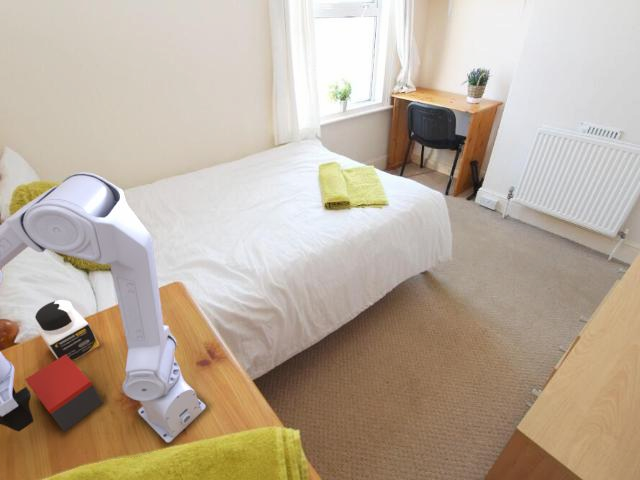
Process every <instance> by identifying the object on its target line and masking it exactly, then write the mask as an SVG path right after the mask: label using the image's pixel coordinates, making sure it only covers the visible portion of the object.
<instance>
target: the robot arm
mask: <svg viewBox="0 0 640 480" xmlns="http://www.w3.org/2000/svg"><path fill="white" fill-rule="evenodd" d="M153 241H154V240H153V238H152V236H151V234H150V232H149V231H148V230H147V229H146V227H145V226H144V224H143V223H142V222H141V221H140V219H139V217H137V215H136V214H135V213H134V212H133V210H132V209H131V208H130V206H129V205H128V203H127V201H126V197H125V194H124V191H123V189H122V188H120V187H119V186H117V185H115V184H114V183H112V182H110V181H109V180H107V179H105V178H104V177H102V176H100V175H98V174H95V173H92V172H87V171H81V172H80V171H79V172H75V173H72V174H69V175H68V176H67V177H66V178H65V179H63V181H62V182H61V184H60V185H54V186H53V187H51V188H49V189H48V190H46V191H45V192H43V193H41V194H40V195H38V196H37V197H35V198H34V199H32V200H30V201H29V202H28V203H26V204H25V205H23V206H22V207H21V208H19V209H18V210H17V211H16V212H14V213H13V214H12V215H10V216H9V217H8V218H7V219H5V220H4V222H2V223H1V224H0V284H1V283H2V281H3V272H2V270H1V269H2V268H3V267H5V266H6V265H7V264H9V263H10V262H11V261H12V260H14V259H15V258H16V257H18V256H19V255H20V254H21V253H22V252H24V251H25V250H26V249H28V248H31V249H32V250H34V251H35V252H37V253H44V252H45V251H46V250H48V251H52V252H55V253H57V254H61V255H66V256H69V257H71V258H72V257H73V258H76V259H79V260H84V261H88V262H91V263H95V264H98V265H104V266H105V265H109V267H110V272H111V275H112V281H113V286H114V290H115V294H116V299H117V304H118V308H119V313H120V318H121V321H122V326H123V332H124V335H125V340H126V345H127V356H126V364H125V379H124V381H123V383H122V386H121V388H122V392H123V393H124V395H125V396H127V397H128V398H130V399H132V400H134V401H138V402H140V403H141V405H142V406H141V407H140V408H139V409H138V410H137V413H138V415H139V416H140V417H141V418H142V419H143V420H144V421H145V422H146V423H147V424H148V425H149V426H150V427H151V428H152V430H154V431H155V432H156V433H157V434H158V435H159V436H160V437H161V439H162V440H163V441H164V442H165V443H166V444H169V443H172V441H173V440H174V439H176V437H178V435H180V434H181V433H182V432H183V431H184V430H185V429H186V428H187V427H188V426H189V425H190V424H191V423H192V422H193V421H194V420H195V419H197V417H198V416H200V415H201V414H202V412H204V411H205V410H206V408H207V406H206V404H205V403H204V402H203V401H202V400H200V399H199V398H198V395H197V392H196V391H195V390H194V389H193V388H192V387H191V385H189V384H188V383H187V382H186V380H185V379H184V377H183V373H182V370H181V368H180V366H179V364H178V362H177V360H176V357H175V352H176V350H177V347H178V341H177V339H176V337H175V336H174V335H173V334H172V333H171V330H170V326H169V325H165V324H164V317H163V311H162V309H163V308H162V303H161V294H160V288H159V280H158V272H157V265H156V264H157V263H156V257H155V252H154V251H155V250H154V243H153ZM14 380H15V366H14V364H13V363H12V362H11V361H9V360H8V359H7V358H6V356H4V355H3V353H2V352H1V351H0V426H5V427H7V428H9V429H10V430H12V431H15V432H21V431H23V430H24V429H25V428H27V427H28V426H29V425H31V424H33V423H34V417H33V414H32V410H31V408H30V402H31V397H32V396H31V392H30V390H29V388H28V387H27V386H25V387H23V388H22V389H19V390H18V391H17V392H16V389H15V387H14Z"/></svg>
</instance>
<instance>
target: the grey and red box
mask: <svg viewBox="0 0 640 480" xmlns="http://www.w3.org/2000/svg"><path fill="white" fill-rule="evenodd" d="M24 381H26V383H27V384H28V386H29V387H30V389H31V390H32V391H33V392H34V394H35V395H36V397H37V398H38V399H39V401H40V402H41V404H42V405H43V406H44V408H45V409H46V411H47V412H48V413H49V414H50V415H51V417H52V418H53V420H54V421H55V422H56V424H57V425H58V426H59V428H60V429H61V430H62V431H63V432H64V433H65V432H67V431H68V430H69V429H71V428H72V427H74V426H75V425H76V424H78V423H79V422H81V421H82V420H83V419H84V418H86V417H87V416H88V415H90V414H91V413H93V412H94V411H95V410H97V408H99V407H100V406H102V405H103V404H104V401H103V400H102V398H101V396H100V395H99V393H98V391H97V390H96V388H95V387H94V385H93V383H92V381H91V380H90V379H89V378H88V377H87V375H85V374H84V372H83V371H82V370H81V369H80V368H79V367H78V365H76V363H74V361H73V362H72V361H71V359H70V358H69V357H68V356H67V355H66V354H65V355H64V356H62V357H61V358H59V359H57V358H56V359H55V360H54V361H52V362H51V363H49V364H47V365H46V366H44V367H42V368H41V369H39V370H38V371H36V372H34V373H32V374H31V375H29V376H28V377H26V378H25V379H24Z"/></svg>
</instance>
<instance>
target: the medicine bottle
mask: <svg viewBox="0 0 640 480" xmlns="http://www.w3.org/2000/svg"><path fill="white" fill-rule="evenodd" d="M35 320H36V322H37V323H38V325H39V326H38V327H37V328H36V331H37V332H38V333H39V335H40V337H41V338H42V340H43V341H44V343H45V344H46V346H47V347H48V349H49V350H50V352H51V353H52V354H53V356H54V357H55V358H56V360H57V359H59V358H61V357H62V356H64V355H65V354H66V355H67V356H68V357H69V358H70V359H71V361H72V362H73V363H74V362H75V361H77V360H78V359H80V358H82V357H83V356H85V355H87V354H88V353H90V352H91V351H93V350H94V349H96V348H98V347H99V346H100V343H99V341H98V339H97V337H96V336H95V334H94V332H93V330H92V328H91V326H90V324H89V322H88V321H86V319H85V318H84V317H83V316H82V315H81V314H80V313H79V312H78V311H77V310H76V309H75V308H74V306H73V305H72V302H70V301H69V300H66V299H65V300H64V299H59V300H53V301H51V302H49V303H46V304H45V305H43V306H42V307H41V308H39V309H38V311H37V312H36V313H35Z"/></svg>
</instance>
